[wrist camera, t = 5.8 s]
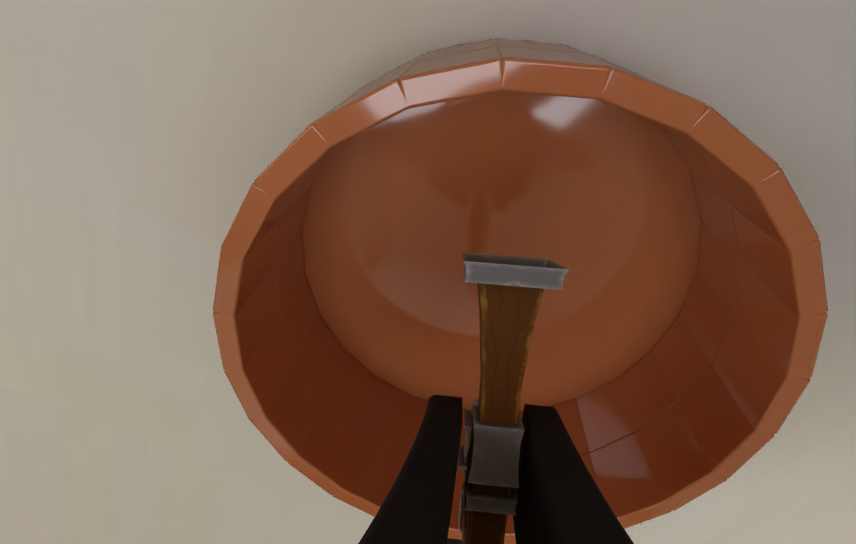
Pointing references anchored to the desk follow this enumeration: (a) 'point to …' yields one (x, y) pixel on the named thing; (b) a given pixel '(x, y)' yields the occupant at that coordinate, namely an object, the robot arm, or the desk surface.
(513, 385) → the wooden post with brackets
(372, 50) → the desk surface
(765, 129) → the desk surface
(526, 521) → the robot arm
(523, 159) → the orange brown bowl
